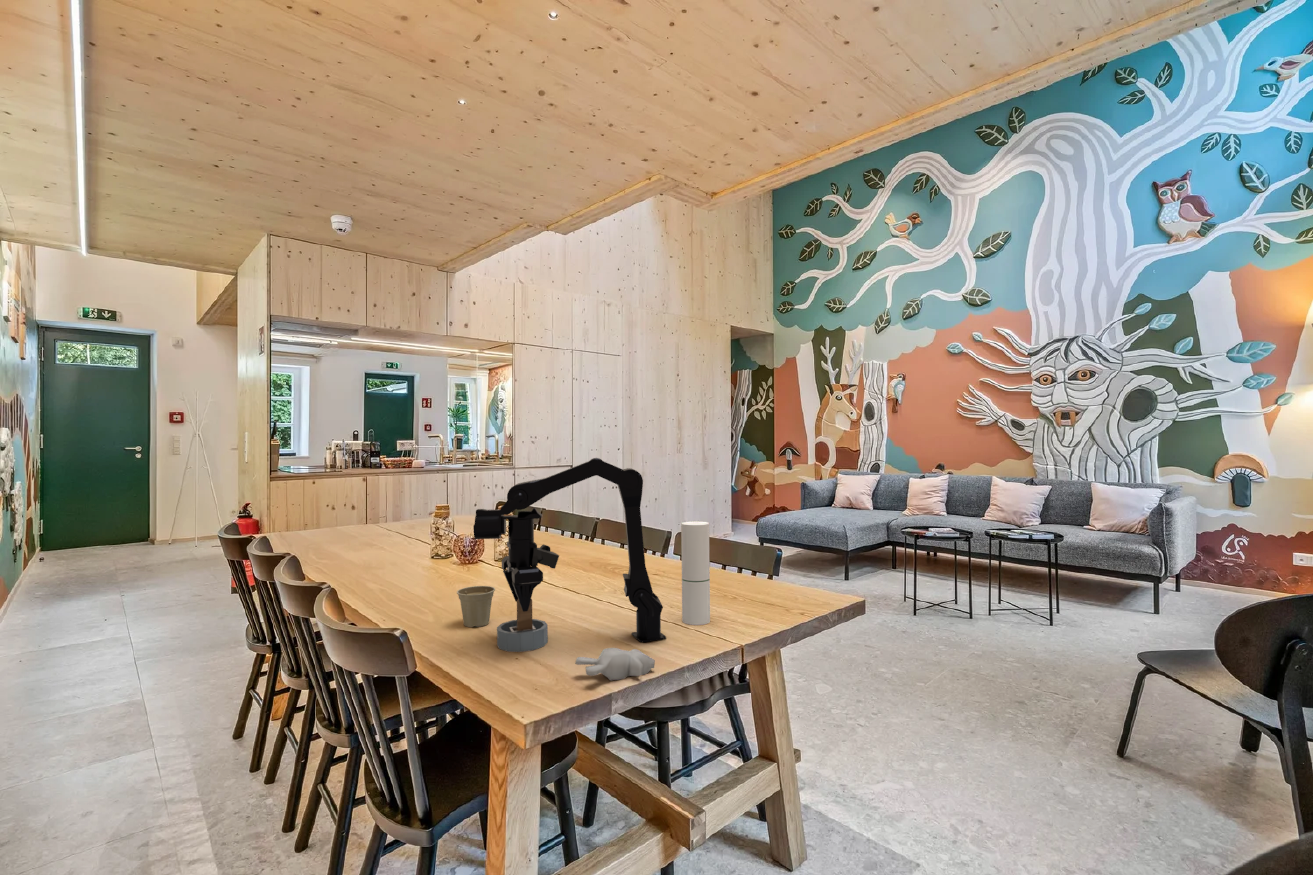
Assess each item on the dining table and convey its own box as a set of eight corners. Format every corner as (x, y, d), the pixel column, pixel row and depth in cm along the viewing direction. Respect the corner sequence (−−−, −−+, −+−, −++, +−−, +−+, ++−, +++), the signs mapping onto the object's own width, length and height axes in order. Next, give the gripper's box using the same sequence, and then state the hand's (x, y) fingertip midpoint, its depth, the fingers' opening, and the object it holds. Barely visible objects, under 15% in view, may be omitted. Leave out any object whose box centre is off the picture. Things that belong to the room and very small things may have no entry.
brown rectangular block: (532, 638, 140) (532, 599, 140) (518, 640, 138) (518, 601, 138) (531, 636, 141) (530, 597, 141) (517, 638, 140) (516, 599, 140)
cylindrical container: (710, 617, 159) (709, 521, 159) (709, 625, 152) (708, 525, 152) (682, 616, 160) (682, 521, 160) (681, 624, 153) (680, 525, 153)
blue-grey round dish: (551, 647, 137) (551, 629, 137) (501, 654, 132) (501, 636, 132) (541, 633, 147) (541, 616, 147) (494, 639, 142) (494, 622, 142)
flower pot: (449, 628, 151) (449, 593, 151) (469, 617, 160) (469, 584, 161) (483, 630, 149) (483, 595, 149) (501, 619, 158) (501, 586, 158)
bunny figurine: (662, 656, 119) (591, 660, 112) (659, 682, 119) (588, 688, 112) (640, 642, 128) (573, 645, 121) (638, 667, 127) (571, 671, 120)
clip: (535, 639, 139) (535, 628, 139) (512, 643, 137) (511, 631, 137) (532, 635, 142) (532, 624, 142) (509, 638, 140) (509, 627, 140)
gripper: (565, 541, 134) (566, 612, 134) (546, 530, 151) (547, 593, 151) (514, 545, 130) (515, 618, 130) (501, 533, 147) (501, 598, 147)
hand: (521, 606), depth 140 cm, fingers open, 9 cm apart
